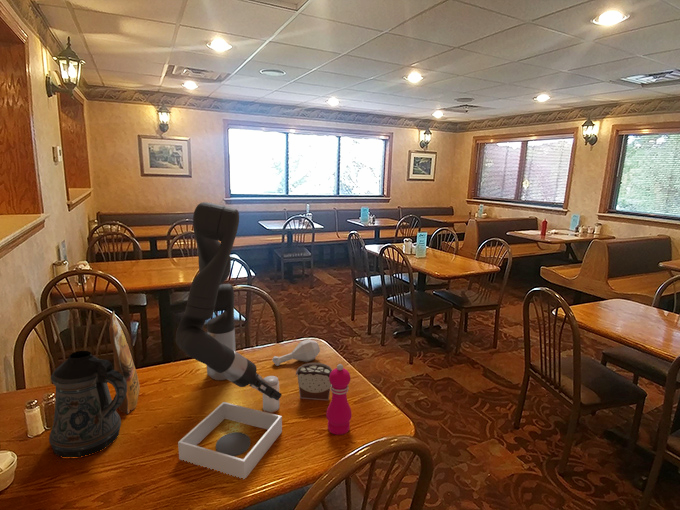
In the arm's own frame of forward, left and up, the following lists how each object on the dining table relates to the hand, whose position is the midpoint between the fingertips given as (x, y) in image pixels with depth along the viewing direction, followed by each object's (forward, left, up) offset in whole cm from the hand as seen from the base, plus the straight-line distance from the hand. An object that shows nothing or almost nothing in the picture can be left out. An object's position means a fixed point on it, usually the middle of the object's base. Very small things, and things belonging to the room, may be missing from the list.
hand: (271, 391), depth 126 cm
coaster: (-1, -19, -5) cm, 20 cm away
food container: (+10, +12, -6) cm, 16 cm away
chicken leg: (-6, +30, -6) cm, 31 cm away
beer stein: (-38, -30, -6) cm, 49 cm away
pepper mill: (+23, -2, -6) cm, 24 cm away
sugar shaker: (0, 0, -5) cm, 5 cm away
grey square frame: (-1, -19, -5) cm, 20 cm away
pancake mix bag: (-44, -13, -6) cm, 47 cm away
